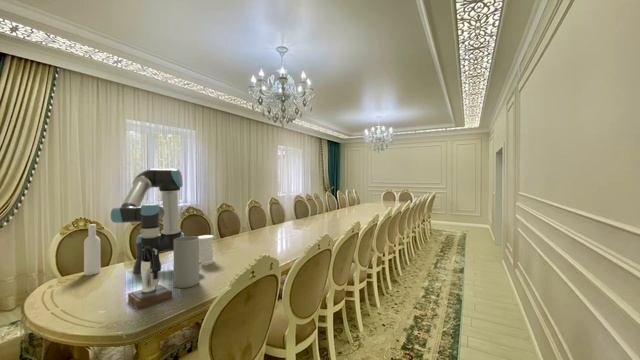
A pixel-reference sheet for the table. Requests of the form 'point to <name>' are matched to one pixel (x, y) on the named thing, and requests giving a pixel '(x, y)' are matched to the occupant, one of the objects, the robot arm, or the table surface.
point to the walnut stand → (149, 297)
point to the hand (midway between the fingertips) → (150, 283)
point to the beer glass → (146, 277)
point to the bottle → (92, 252)
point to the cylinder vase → (186, 261)
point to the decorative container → (206, 249)
